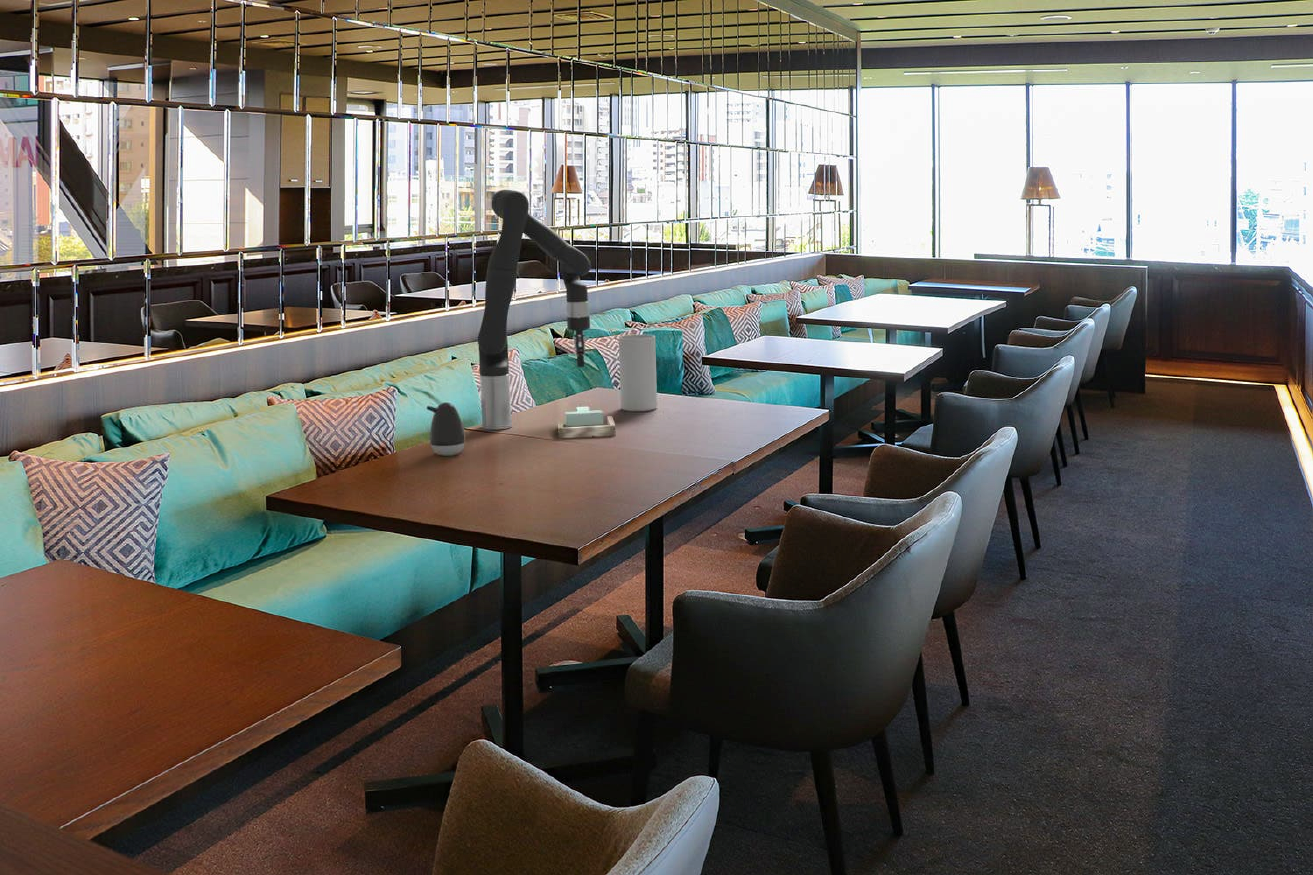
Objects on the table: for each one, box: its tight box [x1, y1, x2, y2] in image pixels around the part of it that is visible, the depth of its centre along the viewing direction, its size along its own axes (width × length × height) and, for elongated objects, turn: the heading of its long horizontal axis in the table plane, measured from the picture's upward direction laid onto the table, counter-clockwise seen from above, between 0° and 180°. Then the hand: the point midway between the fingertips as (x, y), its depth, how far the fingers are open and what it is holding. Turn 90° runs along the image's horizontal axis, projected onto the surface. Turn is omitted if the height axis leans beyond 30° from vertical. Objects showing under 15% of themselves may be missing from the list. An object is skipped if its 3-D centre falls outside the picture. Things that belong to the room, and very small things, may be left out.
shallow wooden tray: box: [557, 415, 616, 439], centre depth 348 cm, size 17×16×3 cm
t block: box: [564, 406, 604, 427], centre depth 364 cm, size 12×12×4 cm
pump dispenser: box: [426, 402, 466, 457], centre depth 320 cm, size 10×10×15 cm
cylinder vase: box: [618, 334, 658, 412], centre depth 382 cm, size 12×12×25 cm
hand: (580, 366), depth 372 cm, fingers closed
